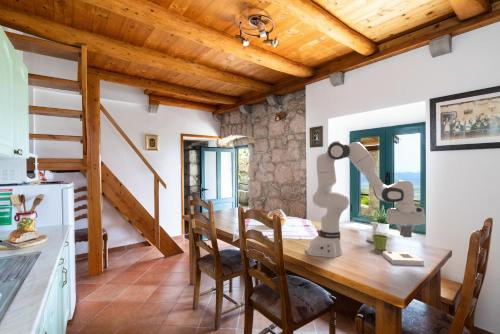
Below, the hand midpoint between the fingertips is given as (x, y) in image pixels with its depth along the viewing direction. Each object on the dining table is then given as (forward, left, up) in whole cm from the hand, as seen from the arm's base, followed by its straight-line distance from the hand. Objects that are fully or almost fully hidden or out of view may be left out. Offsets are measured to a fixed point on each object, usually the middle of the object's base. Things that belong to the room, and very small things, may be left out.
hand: (405, 231), depth 143 cm
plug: (0, 0, -3) cm, 3 cm away
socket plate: (-2, 0, -17) cm, 17 cm away
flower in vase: (-5, +36, -17) cm, 40 cm away
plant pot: (-7, +19, -17) cm, 26 cm away
